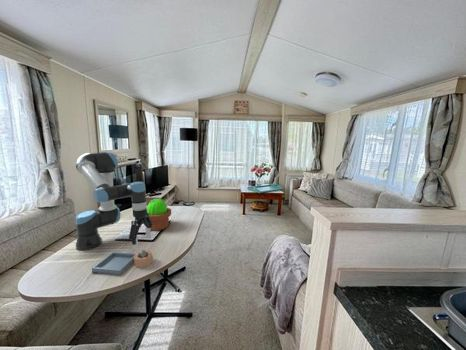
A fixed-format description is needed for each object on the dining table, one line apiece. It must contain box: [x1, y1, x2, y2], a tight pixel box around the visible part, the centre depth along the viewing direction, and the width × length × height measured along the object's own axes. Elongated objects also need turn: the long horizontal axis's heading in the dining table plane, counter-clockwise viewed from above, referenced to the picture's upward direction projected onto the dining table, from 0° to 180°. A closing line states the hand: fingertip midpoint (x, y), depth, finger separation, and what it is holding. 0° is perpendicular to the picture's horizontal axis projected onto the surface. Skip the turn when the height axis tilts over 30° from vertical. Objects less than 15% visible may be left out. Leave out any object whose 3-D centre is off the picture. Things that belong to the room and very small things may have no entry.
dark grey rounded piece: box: [137, 250, 148, 269], centre depth 125 cm, size 10×10×8 cm
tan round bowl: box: [133, 250, 154, 269], centre depth 125 cm, size 10×10×5 cm
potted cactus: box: [147, 198, 172, 231], centre depth 175 cm, size 22×22×25 cm
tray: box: [91, 251, 137, 276], centre depth 123 cm, size 17×17×3 cm
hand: (142, 243), depth 123 cm, fingers open, 13 cm apart
